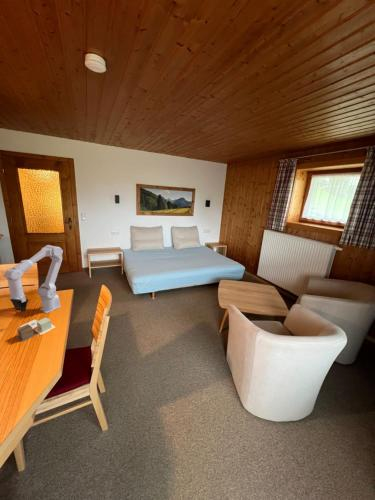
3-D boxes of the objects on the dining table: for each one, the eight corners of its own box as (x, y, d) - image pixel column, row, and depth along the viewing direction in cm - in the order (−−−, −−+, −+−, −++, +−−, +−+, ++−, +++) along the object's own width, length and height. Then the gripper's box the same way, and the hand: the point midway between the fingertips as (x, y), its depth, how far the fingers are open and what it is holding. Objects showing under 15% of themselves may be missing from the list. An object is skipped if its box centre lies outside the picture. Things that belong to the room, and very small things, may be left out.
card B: (48, 322, 122) (48, 322, 122) (55, 327, 118) (55, 326, 118) (33, 329, 115) (33, 329, 115) (41, 334, 111) (40, 334, 111)
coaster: (30, 330, 114) (30, 329, 114) (37, 334, 111) (37, 334, 111) (16, 337, 109) (16, 336, 108) (22, 342, 105) (22, 341, 105)
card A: (35, 319, 123) (35, 319, 123) (41, 324, 120) (41, 323, 120) (19, 326, 117) (19, 326, 117) (26, 331, 113) (26, 331, 113)
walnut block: (18, 336, 109) (16, 329, 107) (29, 331, 113) (27, 324, 111) (23, 340, 106) (21, 332, 105) (33, 334, 111) (32, 327, 109)
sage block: (47, 324, 120) (46, 317, 118) (51, 327, 117) (50, 320, 116) (37, 329, 115) (36, 321, 114) (42, 332, 113) (41, 324, 112)
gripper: (1, 287, 114) (6, 308, 118) (13, 294, 107) (18, 316, 111) (16, 283, 120) (20, 302, 124) (28, 289, 113) (32, 310, 117)
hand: (20, 308), depth 118 cm, fingers open, 7 cm apart
